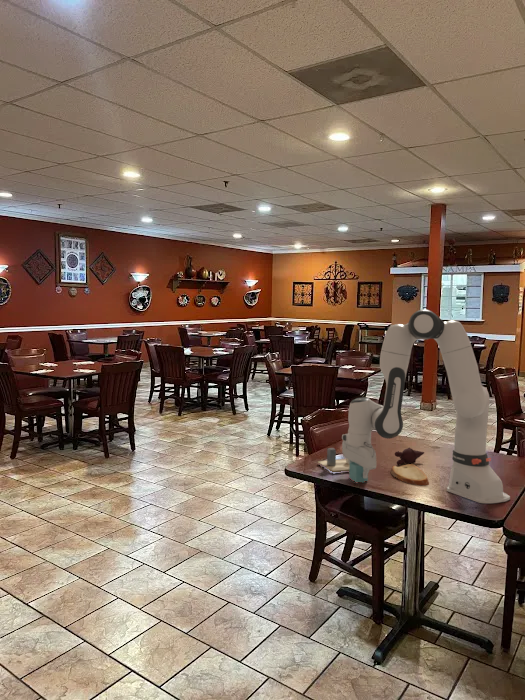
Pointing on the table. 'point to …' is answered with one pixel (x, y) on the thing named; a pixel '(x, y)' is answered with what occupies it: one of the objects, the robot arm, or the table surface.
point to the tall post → (331, 457)
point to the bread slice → (410, 474)
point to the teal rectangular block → (356, 472)
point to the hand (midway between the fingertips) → (358, 474)
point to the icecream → (408, 456)
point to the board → (339, 467)
